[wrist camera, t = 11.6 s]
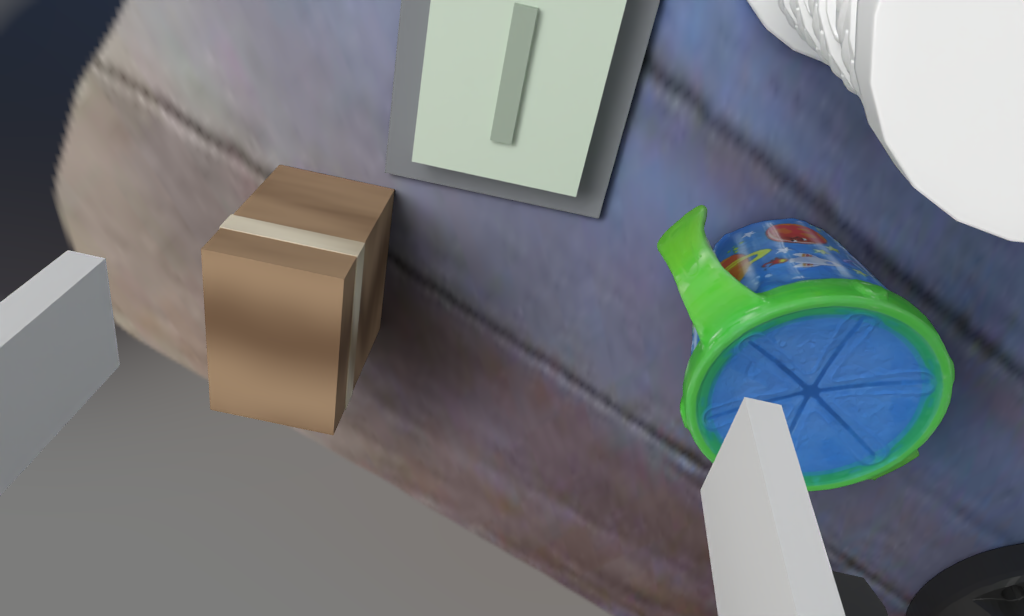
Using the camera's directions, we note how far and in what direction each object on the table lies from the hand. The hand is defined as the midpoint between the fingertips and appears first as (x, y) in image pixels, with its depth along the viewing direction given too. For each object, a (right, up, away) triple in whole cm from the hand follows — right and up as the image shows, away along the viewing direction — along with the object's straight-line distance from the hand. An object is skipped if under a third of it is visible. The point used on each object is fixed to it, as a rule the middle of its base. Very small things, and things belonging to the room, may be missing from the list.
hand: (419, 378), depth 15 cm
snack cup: (+15, +3, +24) cm, 28 cm away
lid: (+2, +12, +18) cm, 22 cm away
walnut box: (-8, +5, +25) cm, 27 cm away
